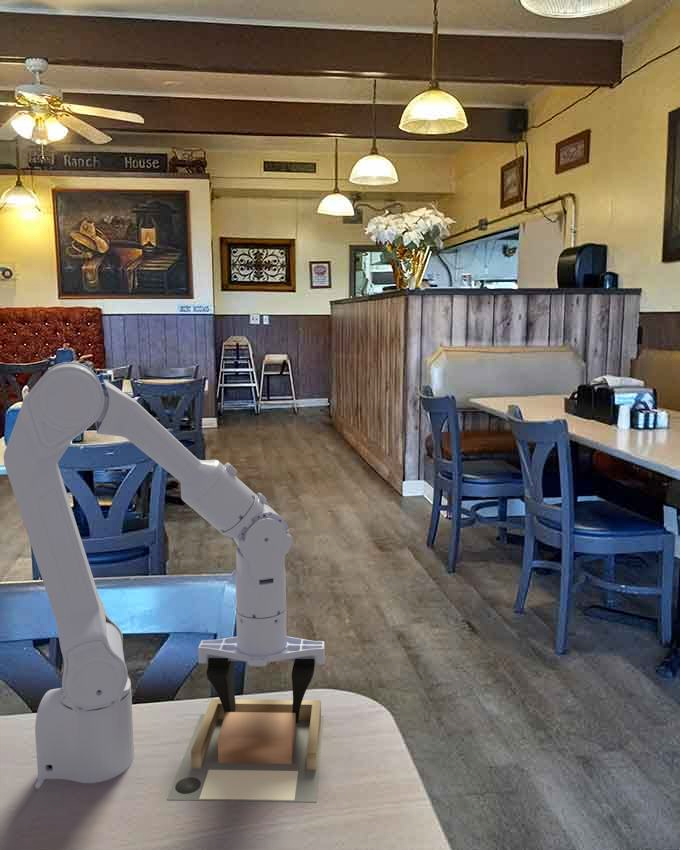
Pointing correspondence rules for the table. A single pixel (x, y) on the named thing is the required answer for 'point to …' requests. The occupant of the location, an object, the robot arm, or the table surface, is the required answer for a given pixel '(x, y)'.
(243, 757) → the terracotta slab
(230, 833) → the table surface
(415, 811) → the table surface
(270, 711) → the oak cubby
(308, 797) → the floor board
